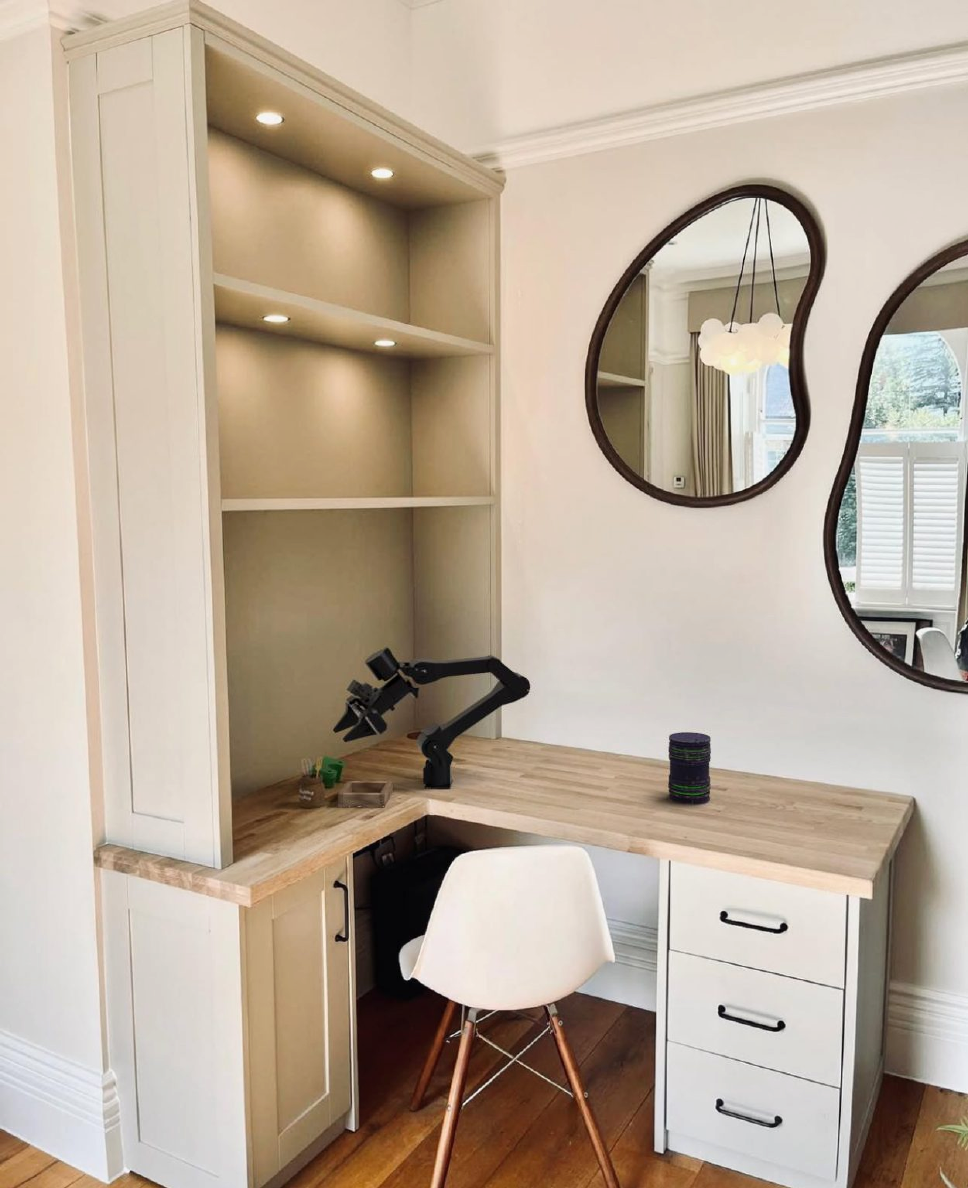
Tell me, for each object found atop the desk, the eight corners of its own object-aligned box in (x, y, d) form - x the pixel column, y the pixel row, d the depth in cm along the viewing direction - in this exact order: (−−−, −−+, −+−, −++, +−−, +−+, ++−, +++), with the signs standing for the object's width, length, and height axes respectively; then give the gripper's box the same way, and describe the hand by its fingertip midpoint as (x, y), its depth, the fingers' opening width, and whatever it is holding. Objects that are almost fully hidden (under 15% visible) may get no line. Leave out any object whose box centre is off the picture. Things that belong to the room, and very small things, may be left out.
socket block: (392, 795, 245) (392, 781, 245) (384, 809, 234) (384, 794, 234) (348, 794, 246) (347, 780, 245) (338, 808, 235) (338, 794, 235)
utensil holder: (313, 799, 241) (311, 750, 240) (331, 804, 237) (329, 754, 236) (294, 805, 237) (292, 755, 235) (311, 810, 233) (310, 759, 231)
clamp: (327, 805, 250) (330, 778, 246) (305, 799, 251) (307, 771, 247) (345, 776, 261) (348, 749, 256) (324, 769, 261) (326, 743, 257)
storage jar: (660, 795, 241) (660, 734, 240) (695, 790, 245) (696, 730, 243) (682, 806, 232) (682, 743, 230) (718, 802, 235) (719, 739, 234)
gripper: (360, 663, 252) (310, 702, 248) (382, 677, 235) (329, 719, 231) (384, 697, 256) (336, 736, 252) (408, 713, 238) (356, 755, 235)
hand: (338, 735), depth 242 cm, fingers open, 9 cm apart
